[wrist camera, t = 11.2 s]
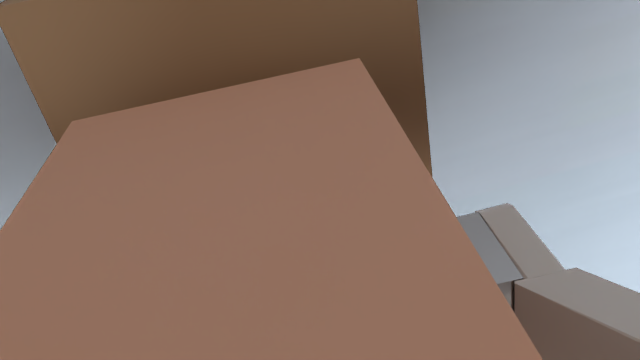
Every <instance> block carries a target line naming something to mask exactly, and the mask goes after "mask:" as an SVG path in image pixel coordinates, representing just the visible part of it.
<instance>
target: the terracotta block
mask: <svg viewBox="0 0 640 360" xmlns="http://www.w3.org/2000/svg"><path fill="white" fill-rule="evenodd" d="M0 360H543V359H542V357H541V356H540V354H539V353H538V351H537V349H536V348H535V346H534V344H533V343H532V341H531V339H530V338H529V336H528V334H527V333H526V331H525V330H524V328H523V326H522V325H521V323H520V321H519V320H518V318H517V316H516V315H515V313H514V311H513V310H512V308H511V306H510V305H509V303H508V302H507V300H506V298H505V297H504V295H503V293H502V292H501V290H500V288H499V287H498V285H497V283H496V282H495V280H494V279H493V277H492V275H491V274H490V272H489V270H488V269H487V267H486V265H485V264H484V262H483V260H482V259H481V257H480V255H479V254H478V252H477V251H476V249H475V247H474V246H473V244H472V242H471V241H470V239H469V237H468V236H467V234H466V232H465V231H464V229H463V228H462V226H461V224H460V223H459V221H458V219H457V218H456V216H455V214H454V213H453V211H452V209H451V208H450V206H449V204H448V203H447V201H446V200H445V198H444V196H443V195H442V193H441V191H440V190H439V188H438V186H437V185H436V183H435V181H434V180H433V178H432V177H431V175H430V173H429V172H428V170H427V168H426V167H425V165H424V163H423V162H422V160H421V158H420V157H419V155H418V153H417V152H416V150H415V149H414V147H413V145H412V144H411V142H410V140H409V139H408V137H407V135H406V134H405V132H404V130H403V129H402V127H401V126H400V124H399V122H398V121H397V119H396V117H395V116H394V114H393V112H392V111H391V109H390V107H389V106H388V104H387V103H386V101H385V99H384V98H383V96H382V94H381V93H380V91H379V89H378V88H377V86H376V84H375V83H374V81H373V79H372V78H371V76H370V75H369V73H368V71H367V70H366V68H365V66H364V65H363V63H362V61H361V60H360V58H357V59H352V60H348V61H343V62H339V63H334V64H330V65H325V66H321V67H316V68H311V69H307V70H302V71H298V72H293V73H289V74H284V75H280V76H275V77H271V78H266V79H261V80H257V81H252V82H248V83H243V84H239V85H234V86H230V87H225V88H221V89H216V90H211V91H207V92H202V93H198V94H193V95H189V96H184V97H180V98H175V99H171V100H166V101H161V102H157V103H152V104H148V105H143V106H139V107H134V108H130V109H125V110H121V111H116V112H111V113H107V114H102V115H98V116H93V117H89V118H84V119H80V120H75V121H72V122H71V123H70V125H69V126H68V128H67V129H66V131H65V133H64V134H63V136H62V137H61V139H60V140H59V142H58V143H57V145H56V146H55V148H54V149H53V151H52V152H51V154H50V155H49V157H48V158H47V160H46V162H45V163H44V165H43V166H42V168H41V169H40V171H39V172H38V174H37V175H36V177H35V178H34V180H33V181H32V183H31V184H30V186H29V187H28V189H27V191H26V192H25V194H24V195H23V197H22V198H21V200H20V201H19V203H18V204H17V206H16V207H15V209H14V210H13V212H12V213H11V215H10V216H9V218H8V219H7V221H6V223H5V224H4V226H3V227H2V229H1V230H0Z"/></svg>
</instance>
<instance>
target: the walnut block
mask: <svg viewBox="0 0 640 360" xmlns="http://www.w3.org/2000/svg"><path fill="white" fill-rule="evenodd" d="M0 26H1V28H2V30H3V33H4V35H5V37H6V39H7V41H8V43H9V45H10V47H11V49H12V51H13V53H14V56H15V58H16V60H17V62H18V64H19V66H20V68H21V70H22V72H23V74H24V76H25V79H26V81H27V83H28V85H29V87H30V89H31V91H32V93H33V95H34V97H35V99H36V102H37V104H38V106H39V108H40V110H41V112H42V114H43V116H44V118H45V120H46V122H47V125H48V127H49V129H50V131H51V133H52V135H53V137H54V139H55V141H56V143H58V142H59V140H60V139H61V137H62V136H63V134H64V133H65V131H66V129H67V128H68V126H69V125H70V123H71V122H72V121H75V120H80V119H84V118H89V117H93V116H98V115H102V114H107V113H111V112H116V111H121V110H125V109H130V108H134V107H139V106H143V105H148V104H152V103H157V102H161V101H166V100H171V99H175V98H180V97H184V96H189V95H193V94H198V93H202V92H207V91H211V90H216V89H221V88H225V87H230V86H234V85H239V84H243V83H248V82H252V81H257V80H261V79H266V78H271V77H275V76H280V75H284V74H289V73H293V72H298V71H302V70H307V69H311V68H316V67H321V66H325V65H330V64H334V63H339V62H343V61H348V60H352V59H357V58H360V60H361V61H362V63H363V65H364V66H365V68H366V70H367V71H368V73H369V75H370V76H371V78H372V79H373V81H374V83H375V84H376V86H377V88H378V89H379V91H380V93H381V94H382V96H383V98H384V99H385V101H386V103H387V104H388V106H389V107H390V109H391V111H392V112H393V114H394V116H395V117H396V119H397V121H398V122H399V124H400V126H401V127H402V129H403V130H404V132H405V134H406V135H407V137H408V139H409V140H410V142H411V144H412V145H413V147H414V149H415V150H416V152H417V153H418V155H419V157H420V158H421V160H422V162H423V163H424V165H425V167H426V168H427V170H428V172H429V173H430V175H431V177H432V167H431V156H430V144H429V133H428V121H427V109H426V98H425V86H424V75H423V63H422V51H421V40H420V28H419V17H418V5H417V0H5V1H3V2H2V3H0Z"/></svg>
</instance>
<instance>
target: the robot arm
mask: <svg viewBox="0 0 640 360" xmlns="http://www.w3.org/2000/svg"><path fill="white" fill-rule="evenodd" d="M456 218H457V219H458V221H459V223H460V224H461V226H462V228H463V229H464V231H465V232H466V234H467V236H468V237H469V239H470V241H471V242H472V244H473V246H474V247H475V249H476V251H477V252H478V254H479V255H480V257H481V259H482V260H483V262H484V264H485V265H486V267H487V269H488V270H489V272H490V274H491V275H492V277H493V279H494V280H495V282H496V283H497V285H498V287H499V288H500V290H501V292H502V293H503V295H504V297H505V298H506V300H507V302H508V303H509V305H510V306H511V308H512V310H513V311H514V313H515V315H516V316H517V318H518V320H519V321H520V323H521V325H522V326H523V328H524V330H525V331H526V333H527V334H528V336H529V338H530V339H531V341H532V343H533V344H534V346H535V348H536V349H537V351H538V353H539V354H540V356H541V357H542V359H543V360H640V293H638V292H636V291H633V290H631V289H628V288H626V287H623V286H621V285H618V284H616V283H613V282H611V281H608V280H606V279H603V278H601V277H598V276H596V275H593V274H591V273H588V272H586V271H583V270H581V269H578V268H572V269H567V270H565V268H564V267H563V266H562V265H561V264H560V262H559V261H558V260H557V259H556V257H555V256H554V255H553V254H552V253H551V251H550V250H549V249H548V248H547V246H546V245H545V244H544V243H543V242H542V240H541V239H540V238H539V237H538V235H537V234H536V233H535V232H534V231H533V229H532V228H531V227H530V226H529V224H528V223H527V222H526V221H525V219H524V218H523V217H522V216H521V215H520V213H519V212H518V211H517V210H516V208H515V207H514V206H513V205H510V204H508V203H506V204H502V205H498V206H494V207H490V208H486V209H482V210H478V211H475V213H471V214H466V215H462V216H458V217H456Z"/></svg>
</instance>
